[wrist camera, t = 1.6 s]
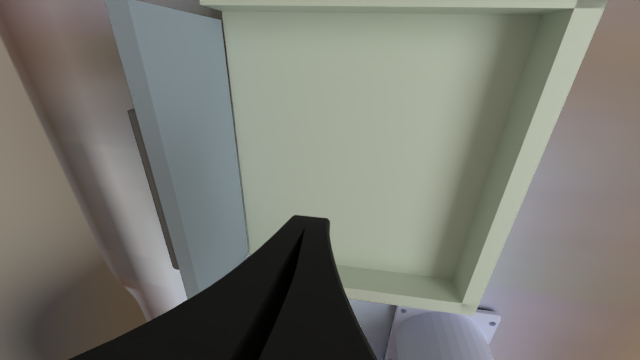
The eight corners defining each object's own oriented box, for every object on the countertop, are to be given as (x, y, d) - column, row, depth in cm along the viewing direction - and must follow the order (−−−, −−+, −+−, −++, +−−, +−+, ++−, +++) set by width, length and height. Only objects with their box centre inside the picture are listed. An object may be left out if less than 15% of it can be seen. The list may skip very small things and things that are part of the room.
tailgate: (248, 251, 20) (207, 323, 15) (227, 249, 20) (179, 319, 15) (220, 19, 13) (126, -2, 8) (190, 19, 14) (78, -2, 8)
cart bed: (456, 275, 20) (473, 316, 17) (258, 251, 22) (240, 283, 19) (554, -6, 12) (618, -25, 9) (232, -7, 14) (196, -24, 11)
